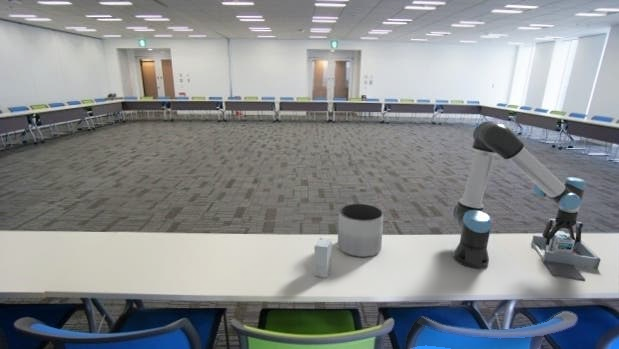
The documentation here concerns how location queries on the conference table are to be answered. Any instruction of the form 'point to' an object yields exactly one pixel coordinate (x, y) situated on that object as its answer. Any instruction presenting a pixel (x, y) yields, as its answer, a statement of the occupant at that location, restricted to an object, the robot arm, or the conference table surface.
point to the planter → (360, 230)
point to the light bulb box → (562, 243)
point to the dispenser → (585, 260)
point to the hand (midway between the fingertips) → (557, 252)
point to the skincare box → (322, 257)
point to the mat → (563, 270)
